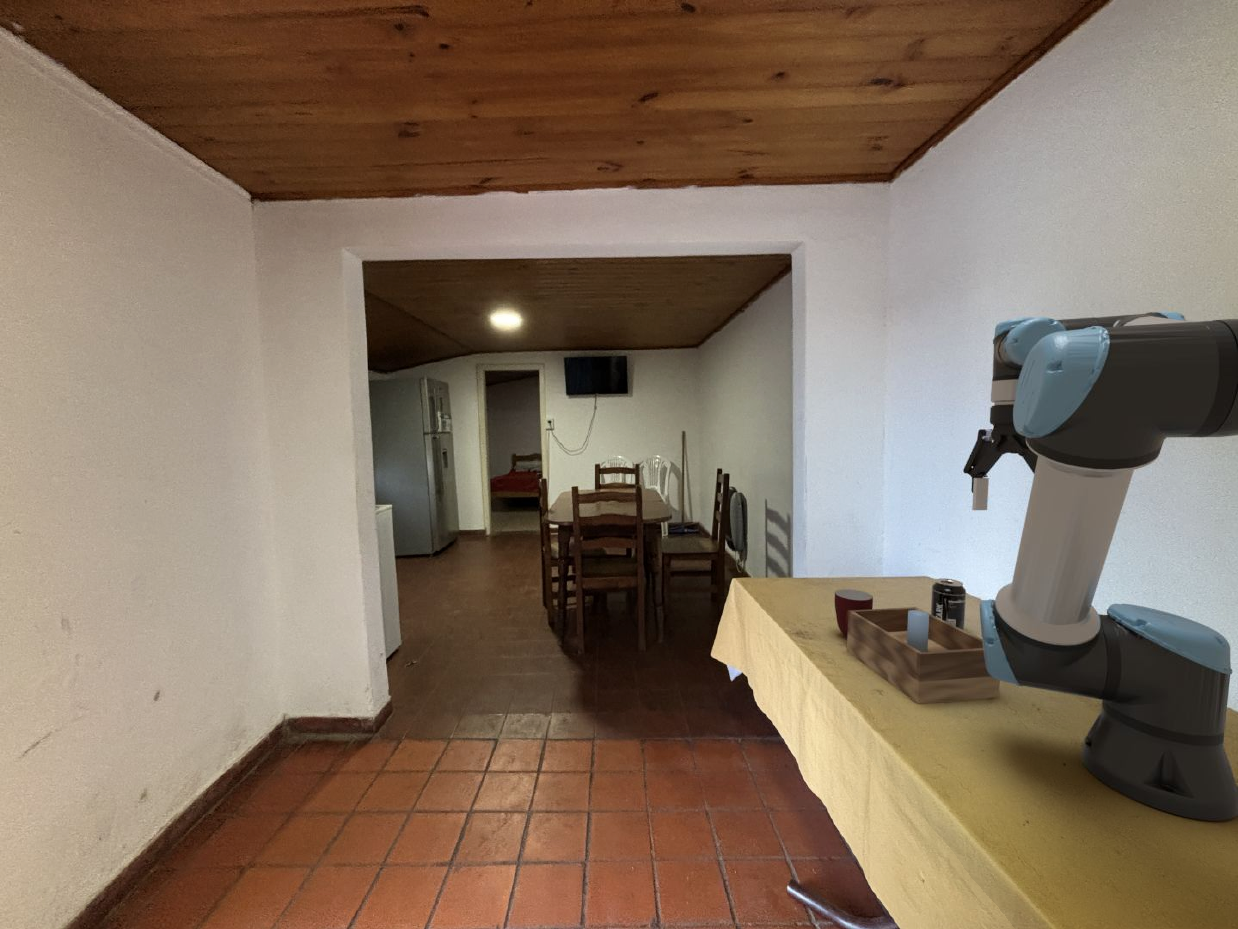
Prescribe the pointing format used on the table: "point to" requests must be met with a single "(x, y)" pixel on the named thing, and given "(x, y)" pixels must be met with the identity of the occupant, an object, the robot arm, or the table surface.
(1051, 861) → the table surface
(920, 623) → the peg
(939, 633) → the tray box
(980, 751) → the table surface
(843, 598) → the mug
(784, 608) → the table surface
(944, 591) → the beverage can
